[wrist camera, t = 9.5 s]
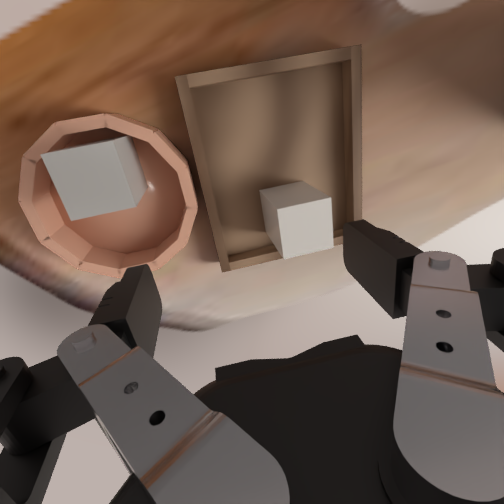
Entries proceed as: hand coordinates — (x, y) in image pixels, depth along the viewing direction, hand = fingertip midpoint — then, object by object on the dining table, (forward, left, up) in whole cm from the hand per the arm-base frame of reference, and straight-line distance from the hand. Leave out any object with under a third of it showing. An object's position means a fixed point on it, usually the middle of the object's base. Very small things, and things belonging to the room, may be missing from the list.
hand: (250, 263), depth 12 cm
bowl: (+8, -1, -15) cm, 17 cm away
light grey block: (+8, -3, -15) cm, 17 cm away
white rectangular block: (-5, +3, -15) cm, 16 cm away
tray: (-5, -1, -15) cm, 16 cm away
